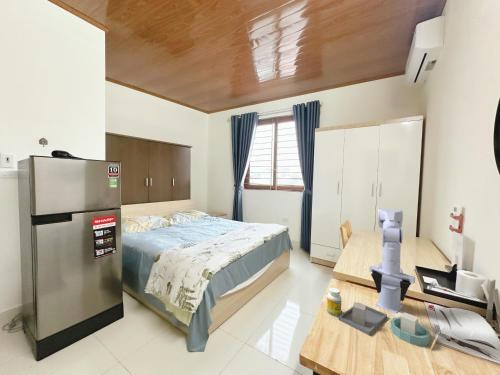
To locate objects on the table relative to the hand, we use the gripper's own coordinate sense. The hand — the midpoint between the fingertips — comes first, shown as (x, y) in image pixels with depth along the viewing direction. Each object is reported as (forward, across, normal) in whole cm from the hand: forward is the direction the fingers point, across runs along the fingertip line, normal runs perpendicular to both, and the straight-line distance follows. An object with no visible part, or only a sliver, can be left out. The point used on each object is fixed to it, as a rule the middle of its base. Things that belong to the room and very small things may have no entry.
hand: (390, 296), depth 81 cm
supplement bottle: (+11, -17, -10) cm, 22 cm away
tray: (+11, -8, -5) cm, 14 cm away
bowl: (+11, +6, -1) cm, 12 cm away
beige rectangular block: (+10, +6, -2) cm, 12 cm away
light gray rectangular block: (+10, -8, -8) cm, 15 cm away
